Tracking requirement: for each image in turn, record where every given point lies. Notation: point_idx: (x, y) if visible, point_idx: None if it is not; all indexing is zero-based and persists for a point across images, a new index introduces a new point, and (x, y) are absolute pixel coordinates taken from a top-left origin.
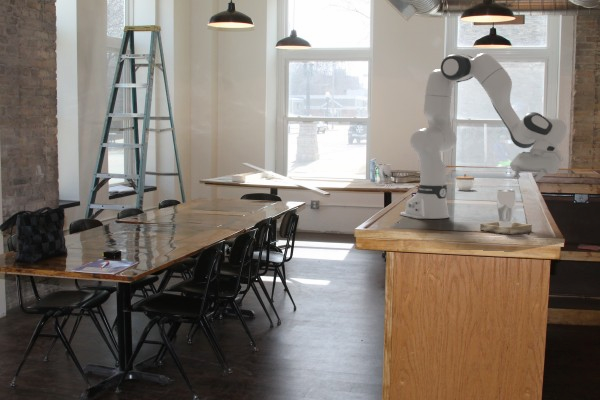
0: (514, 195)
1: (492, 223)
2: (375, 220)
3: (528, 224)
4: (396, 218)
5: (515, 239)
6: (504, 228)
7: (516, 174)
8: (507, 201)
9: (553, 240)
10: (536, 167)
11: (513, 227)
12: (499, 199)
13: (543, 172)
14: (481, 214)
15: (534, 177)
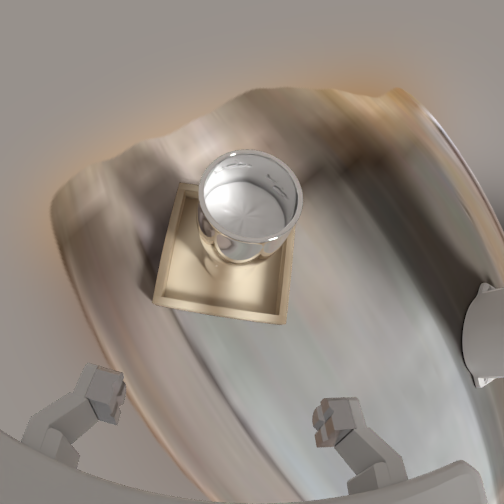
0: (197, 204)
1: (284, 254)
2: (489, 209)
3: (164, 301)
4: (495, 258)
5: (138, 146)
6: (198, 187)
7: (343, 415)
8: (215, 181)
9: (57, 196)
10: (106, 482)
11: (174, 202)
12: (256, 173)
13: (37, 424)
14: (435, 469)
15: (111, 372)
